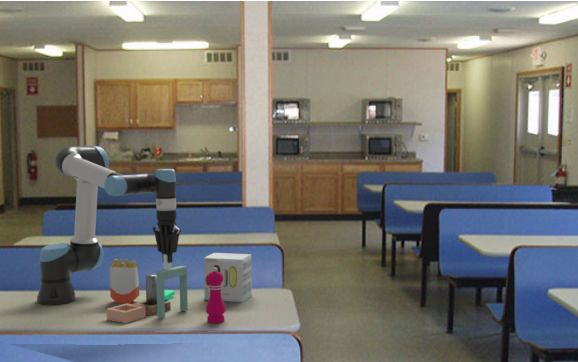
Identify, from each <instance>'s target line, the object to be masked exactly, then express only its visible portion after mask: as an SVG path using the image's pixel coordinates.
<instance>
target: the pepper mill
mask: <svg viewBox="0 0 578 362" xmlns="http://www.w3.org/2000/svg"><path fill="white" fill-rule="evenodd" d="M217 270H218V269H217V268H216V267H214V268H213V272H210V273H209V274H208V276H207V281H208V283H209V289H210V298H209V300H207V303H206V307H205V312H206V314H207V315H208V316H206V317H207V319H206V320H207V321H206V322H208V323H210V324H221V323H224V322H225V315H224V314H225V312H226V310H227V309H226V304H225V301H223V300H222V297H221V289H222V284H221V283H222V282H223V279H224V278H223V275H222V273H220V272H218V271H217Z"/></svg>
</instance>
